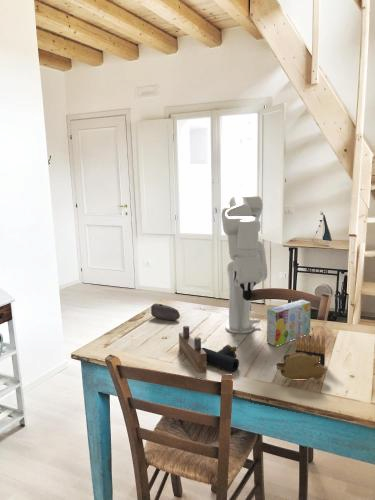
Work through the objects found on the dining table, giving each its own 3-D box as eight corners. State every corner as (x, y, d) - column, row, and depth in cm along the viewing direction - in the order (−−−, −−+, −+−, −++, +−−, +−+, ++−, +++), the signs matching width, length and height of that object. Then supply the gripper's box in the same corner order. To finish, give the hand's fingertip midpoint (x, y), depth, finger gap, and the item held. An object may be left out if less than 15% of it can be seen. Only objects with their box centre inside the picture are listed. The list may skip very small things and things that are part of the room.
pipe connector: (216, 339, 160) (248, 349, 151) (216, 351, 161) (248, 362, 152) (197, 350, 152) (231, 361, 142) (198, 363, 153) (231, 375, 143)
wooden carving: (321, 375, 141) (322, 348, 139) (325, 382, 137) (327, 354, 135) (274, 376, 141) (275, 349, 139) (277, 383, 136) (278, 355, 135)
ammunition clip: (294, 362, 151) (295, 332, 148) (294, 360, 152) (295, 330, 150) (324, 367, 147) (326, 336, 145) (324, 365, 149) (326, 334, 146)
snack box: (300, 331, 180) (301, 298, 177) (310, 335, 175) (312, 302, 173) (266, 343, 168) (266, 308, 166) (275, 347, 164) (276, 312, 161)
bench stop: (186, 348, 164) (185, 322, 162) (206, 371, 145) (206, 342, 143) (179, 349, 163) (178, 323, 161) (198, 373, 144) (198, 344, 142)
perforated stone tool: (182, 319, 196) (182, 306, 195) (177, 323, 192) (176, 309, 191) (155, 315, 203) (155, 301, 202) (150, 318, 199) (149, 305, 197)
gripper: (259, 249, 157) (258, 294, 161) (225, 252, 152) (225, 299, 156) (270, 252, 150) (269, 299, 154) (234, 256, 145) (234, 305, 149)
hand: (247, 299), depth 155 cm, fingers closed
